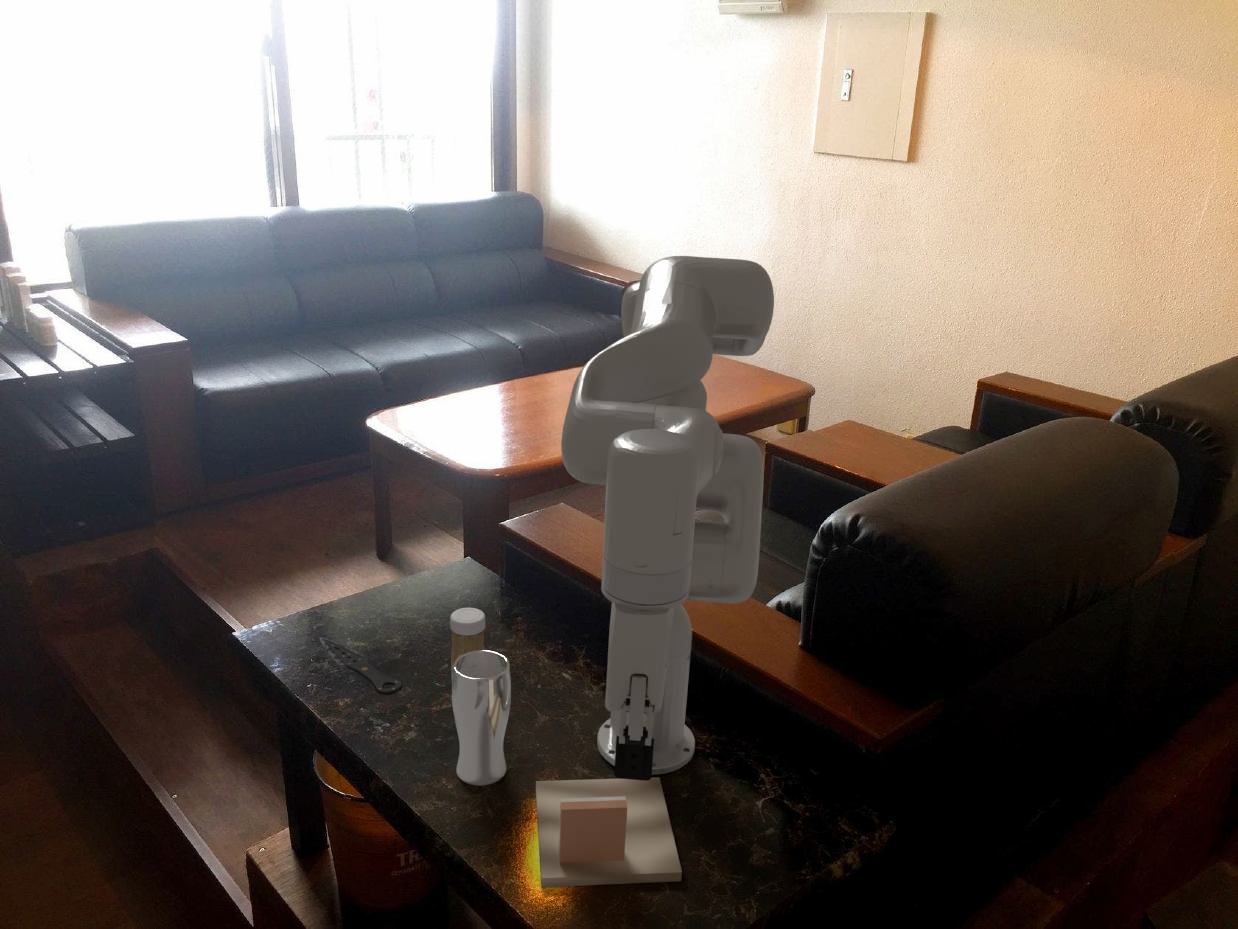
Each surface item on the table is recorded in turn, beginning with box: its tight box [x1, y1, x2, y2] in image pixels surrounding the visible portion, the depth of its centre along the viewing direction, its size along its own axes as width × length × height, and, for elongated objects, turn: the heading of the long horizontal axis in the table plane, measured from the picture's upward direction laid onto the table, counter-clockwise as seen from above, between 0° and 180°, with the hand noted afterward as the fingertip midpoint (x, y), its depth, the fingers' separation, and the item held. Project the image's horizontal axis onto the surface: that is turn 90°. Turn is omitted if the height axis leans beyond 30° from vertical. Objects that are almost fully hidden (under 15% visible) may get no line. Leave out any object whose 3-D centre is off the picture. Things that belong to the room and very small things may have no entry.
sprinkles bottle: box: [449, 607, 486, 703], centre depth 137 cm, size 5×5×13 cm
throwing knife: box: [318, 636, 402, 695], centre depth 147 cm, size 4×20×1 cm, turn 46°
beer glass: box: [451, 649, 512, 787], centre depth 123 cm, size 7×7×15 cm
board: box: [535, 776, 683, 888], centre depth 116 cm, size 16×15×1 cm
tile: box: [558, 796, 627, 863], centre depth 110 cm, size 2×7×7 cm, turn 96°
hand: (635, 743), depth 93 cm, fingers open, 9 cm apart
